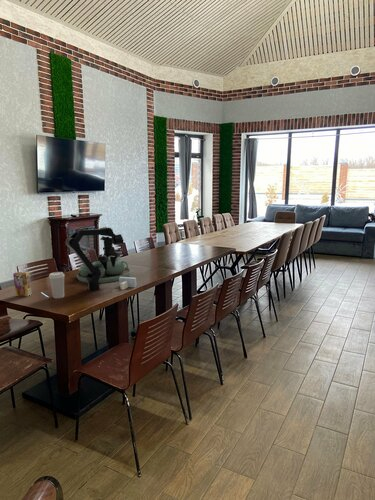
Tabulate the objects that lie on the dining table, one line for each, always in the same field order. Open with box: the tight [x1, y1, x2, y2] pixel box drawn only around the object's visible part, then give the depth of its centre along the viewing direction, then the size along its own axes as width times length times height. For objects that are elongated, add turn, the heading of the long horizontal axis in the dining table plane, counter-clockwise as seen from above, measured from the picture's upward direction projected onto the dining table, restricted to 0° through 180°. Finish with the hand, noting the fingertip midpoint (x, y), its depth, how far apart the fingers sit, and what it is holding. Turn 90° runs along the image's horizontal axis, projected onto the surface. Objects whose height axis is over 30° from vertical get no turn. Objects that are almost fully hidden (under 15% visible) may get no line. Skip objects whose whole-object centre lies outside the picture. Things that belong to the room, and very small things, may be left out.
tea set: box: [76, 255, 132, 284], centre depth 277 cm, size 40×40×16 cm
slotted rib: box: [120, 281, 130, 291], centre depth 248 cm, size 16×2×4 cm, turn 160°
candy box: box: [12, 271, 33, 297], centre depth 234 cm, size 9×4×15 cm, turn 82°
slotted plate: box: [118, 276, 138, 288], centre depth 248 cm, size 12×2×6 cm, turn 69°
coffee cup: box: [48, 271, 66, 299], centre depth 229 cm, size 10×10×15 cm
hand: (110, 268), depth 250 cm, fingers open, 9 cm apart
